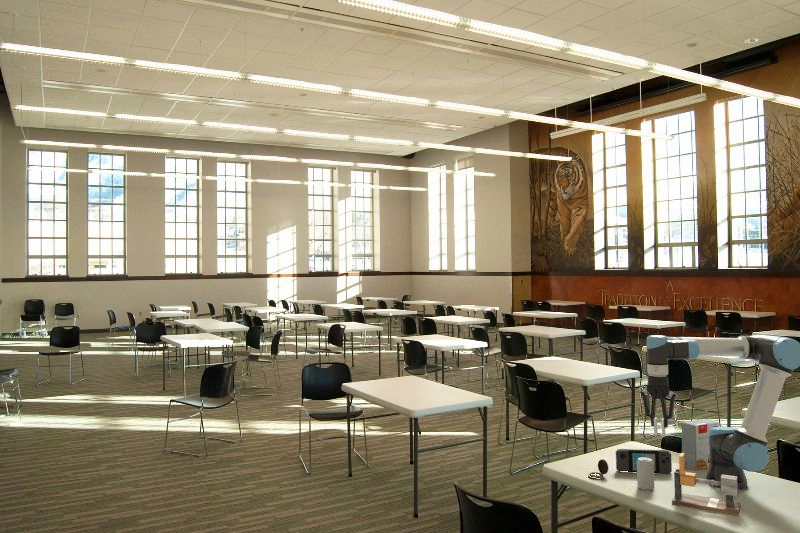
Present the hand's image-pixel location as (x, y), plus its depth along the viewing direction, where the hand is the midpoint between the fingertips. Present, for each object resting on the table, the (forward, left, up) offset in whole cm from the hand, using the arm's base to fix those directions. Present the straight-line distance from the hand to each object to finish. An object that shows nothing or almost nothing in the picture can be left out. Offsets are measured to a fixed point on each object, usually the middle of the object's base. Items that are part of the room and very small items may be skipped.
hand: (659, 435), depth 235 cm
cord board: (0, +16, -24) cm, 29 cm away
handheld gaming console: (-28, -12, -25) cm, 39 cm away
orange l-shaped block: (0, +10, -17) cm, 20 cm away
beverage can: (-8, -7, -25) cm, 27 cm away
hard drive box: (-50, +8, -25) cm, 56 cm away
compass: (-12, -28, -25) cm, 39 cm away
